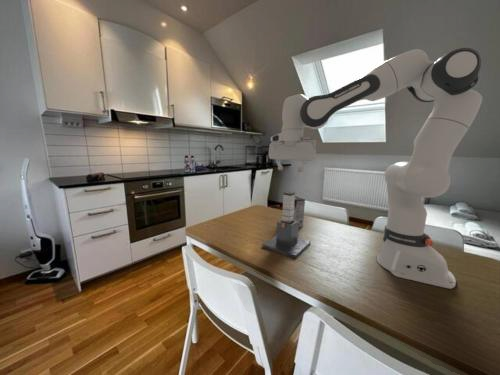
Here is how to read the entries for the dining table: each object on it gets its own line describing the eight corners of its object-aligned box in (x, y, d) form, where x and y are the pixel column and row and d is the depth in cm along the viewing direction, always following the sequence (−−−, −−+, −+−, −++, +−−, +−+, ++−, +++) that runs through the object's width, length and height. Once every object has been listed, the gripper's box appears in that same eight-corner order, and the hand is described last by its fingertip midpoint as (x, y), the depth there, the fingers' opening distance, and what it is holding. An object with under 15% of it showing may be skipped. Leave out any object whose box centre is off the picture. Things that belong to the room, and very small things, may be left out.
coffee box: (285, 222, 122) (286, 196, 119) (293, 221, 125) (295, 195, 122) (294, 228, 114) (296, 200, 111) (303, 226, 116) (305, 199, 114)
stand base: (310, 244, 94) (312, 220, 92) (295, 258, 82) (297, 230, 79) (279, 235, 104) (280, 213, 102) (262, 247, 91) (262, 221, 89)
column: (292, 241, 93) (295, 192, 89) (288, 244, 90) (291, 194, 85) (285, 239, 95) (287, 191, 91) (280, 242, 92) (282, 192, 88)
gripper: (319, 137, 80) (317, 172, 83) (274, 138, 92) (273, 168, 95) (314, 136, 75) (311, 173, 78) (267, 137, 87) (266, 169, 90)
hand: (290, 170), depth 86 cm, fingers open, 8 cm apart
